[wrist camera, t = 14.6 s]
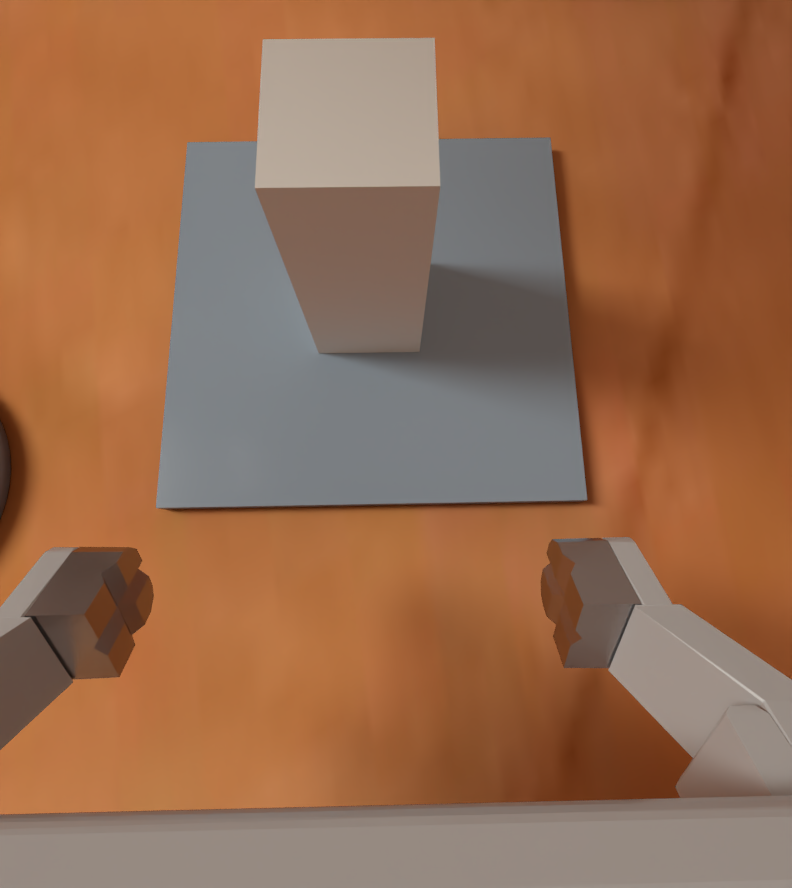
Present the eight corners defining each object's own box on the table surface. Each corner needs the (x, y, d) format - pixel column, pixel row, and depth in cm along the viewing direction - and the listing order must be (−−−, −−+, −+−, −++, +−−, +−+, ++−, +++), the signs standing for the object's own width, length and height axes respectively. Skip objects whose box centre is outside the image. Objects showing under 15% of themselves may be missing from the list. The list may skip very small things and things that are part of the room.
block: (318, 353, 19) (254, 188, 10) (320, 262, 20) (262, 39, 11) (419, 351, 19) (440, 186, 10) (416, 261, 20) (434, 38, 11)
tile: (163, 509, 18) (156, 508, 18) (193, 153, 22) (187, 142, 21) (581, 501, 19) (587, 500, 18) (546, 148, 22) (550, 137, 21)
